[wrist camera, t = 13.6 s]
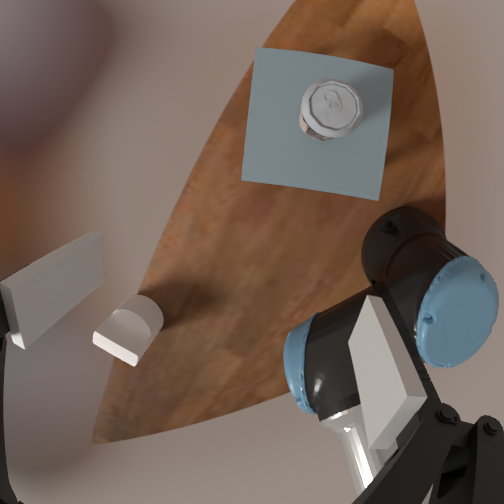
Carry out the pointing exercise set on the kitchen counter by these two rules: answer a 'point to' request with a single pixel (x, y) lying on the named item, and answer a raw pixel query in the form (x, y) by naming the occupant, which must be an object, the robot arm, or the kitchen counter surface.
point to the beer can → (330, 110)
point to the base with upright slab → (130, 329)
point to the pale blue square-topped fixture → (303, 147)
